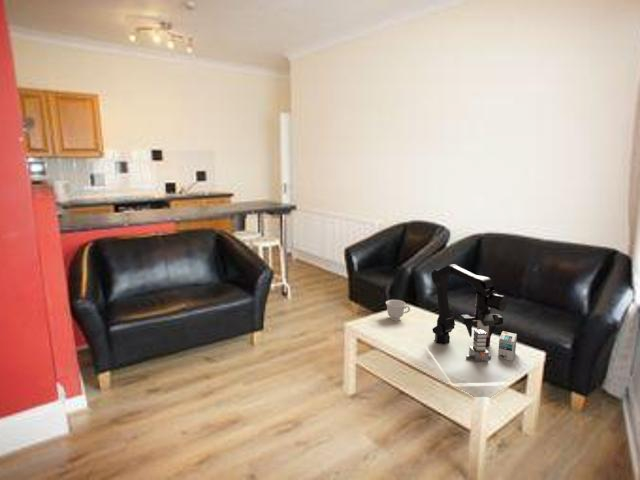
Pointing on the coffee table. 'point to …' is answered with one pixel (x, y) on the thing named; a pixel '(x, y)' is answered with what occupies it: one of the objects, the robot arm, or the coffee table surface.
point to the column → (479, 340)
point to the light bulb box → (507, 345)
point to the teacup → (396, 309)
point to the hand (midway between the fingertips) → (480, 336)
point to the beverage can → (486, 329)
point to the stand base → (478, 355)
